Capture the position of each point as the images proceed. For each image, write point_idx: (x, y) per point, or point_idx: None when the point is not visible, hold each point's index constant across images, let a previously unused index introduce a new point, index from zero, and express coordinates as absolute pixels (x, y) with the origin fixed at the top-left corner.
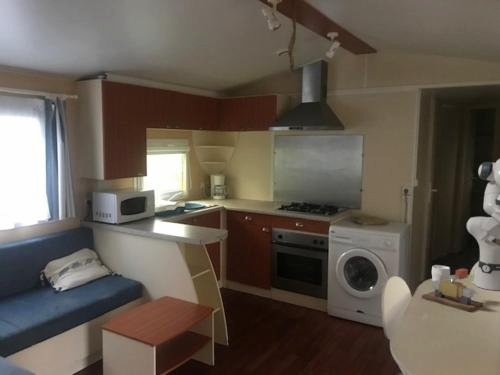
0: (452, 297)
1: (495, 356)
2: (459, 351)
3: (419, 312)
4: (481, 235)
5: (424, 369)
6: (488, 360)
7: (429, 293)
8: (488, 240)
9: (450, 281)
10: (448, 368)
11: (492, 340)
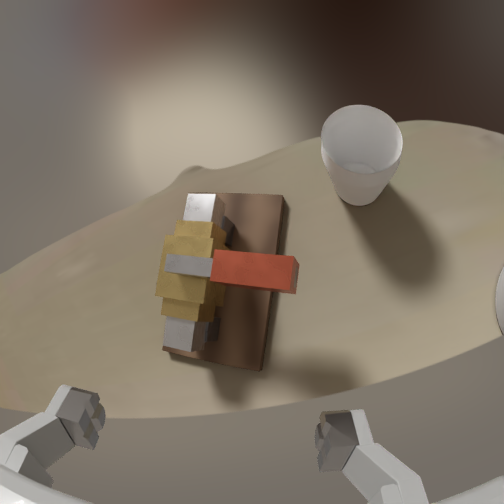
0: None
1: (18, 410)
2: (4, 364)
3: (85, 250)
4: (40, 422)
5: None
6: (7, 401)
7: (227, 196)
8: (322, 465)
9: (193, 254)
10: None
11: None
